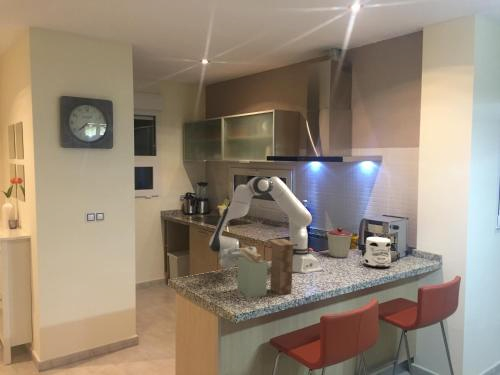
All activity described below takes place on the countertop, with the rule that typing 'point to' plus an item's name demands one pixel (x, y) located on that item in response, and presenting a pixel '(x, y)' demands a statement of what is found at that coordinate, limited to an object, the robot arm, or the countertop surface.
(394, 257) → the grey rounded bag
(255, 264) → the sage box
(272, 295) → the countertop surface
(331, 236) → the canister
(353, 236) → the condiment
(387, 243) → the white piece
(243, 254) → the beech bar
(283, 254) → the walnut stand
